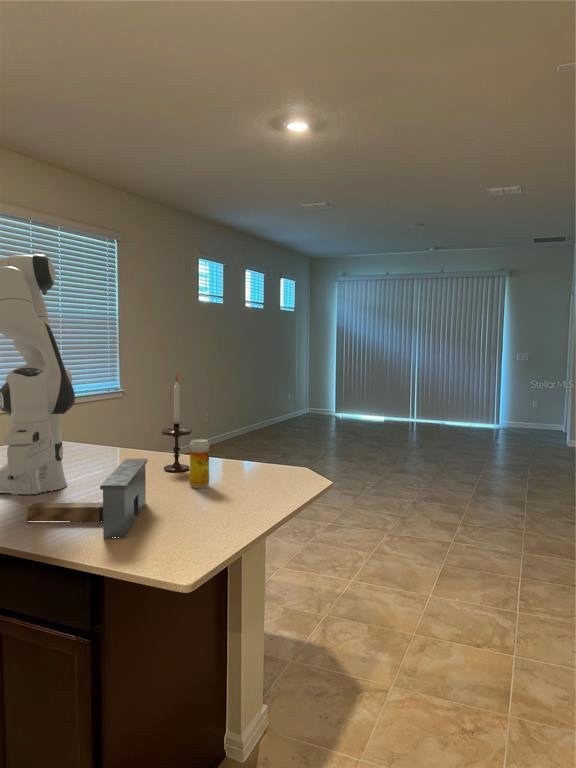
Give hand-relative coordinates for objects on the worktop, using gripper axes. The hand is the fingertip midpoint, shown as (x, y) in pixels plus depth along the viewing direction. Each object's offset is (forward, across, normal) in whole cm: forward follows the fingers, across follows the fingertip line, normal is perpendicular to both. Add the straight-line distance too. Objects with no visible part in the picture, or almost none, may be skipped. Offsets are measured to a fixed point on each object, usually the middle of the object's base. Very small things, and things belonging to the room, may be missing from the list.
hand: (35, 485), depth 141 cm
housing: (+10, -1, +22) cm, 25 cm away
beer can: (+11, -34, +38) cm, 52 cm away
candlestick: (+11, -57, +27) cm, 63 cm away
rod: (+10, -1, +8) cm, 12 cm away
